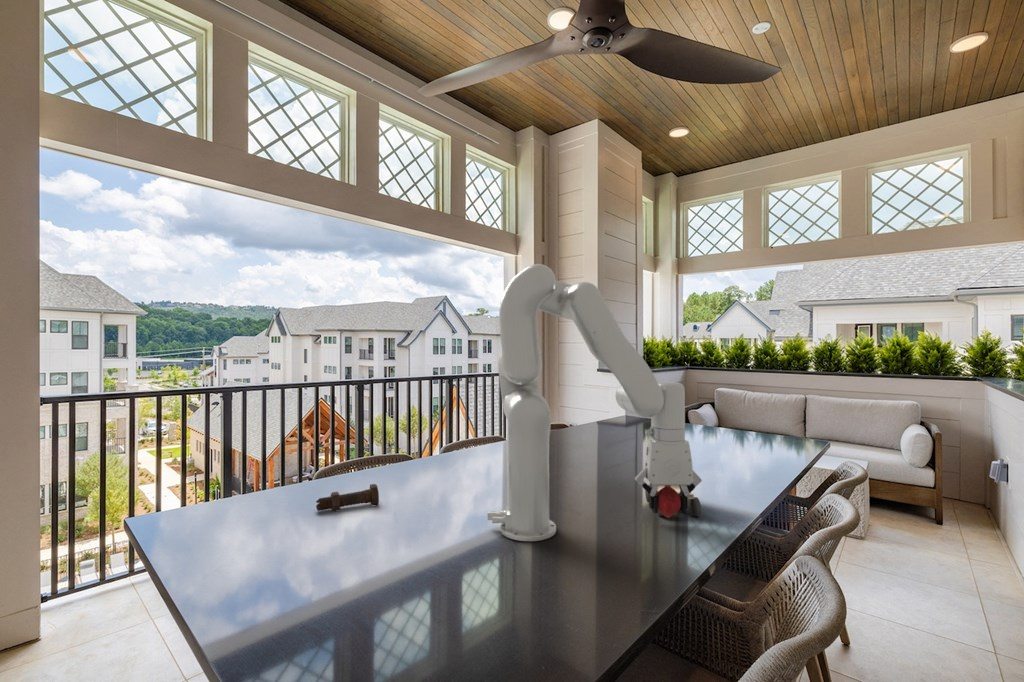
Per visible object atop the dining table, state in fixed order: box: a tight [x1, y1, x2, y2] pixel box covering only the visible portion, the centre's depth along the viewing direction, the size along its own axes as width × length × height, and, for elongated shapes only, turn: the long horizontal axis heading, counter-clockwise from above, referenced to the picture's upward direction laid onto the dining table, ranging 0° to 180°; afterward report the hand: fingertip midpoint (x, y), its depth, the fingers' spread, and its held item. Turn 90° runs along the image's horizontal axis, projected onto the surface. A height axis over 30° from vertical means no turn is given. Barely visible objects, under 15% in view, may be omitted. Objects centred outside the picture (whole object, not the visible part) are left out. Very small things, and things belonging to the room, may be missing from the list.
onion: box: [656, 486, 681, 519], centre depth 111 cm, size 6×6×8 cm
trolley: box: [644, 484, 702, 517], centre depth 121 cm, size 14×10×14 cm, turn 179°
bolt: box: [315, 483, 380, 512], centre depth 122 cm, size 6×5×15 cm
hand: (668, 510), depth 111 cm, fingers closed on onion, 5 cm apart
